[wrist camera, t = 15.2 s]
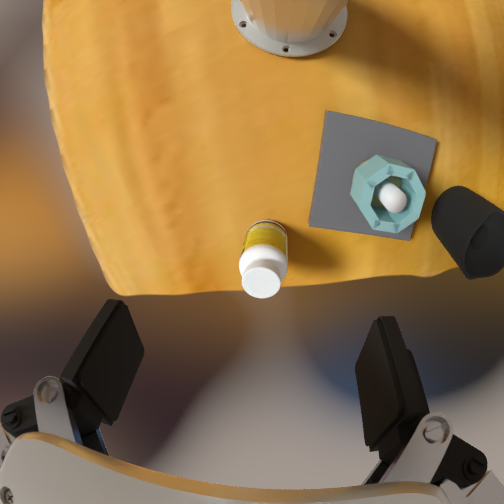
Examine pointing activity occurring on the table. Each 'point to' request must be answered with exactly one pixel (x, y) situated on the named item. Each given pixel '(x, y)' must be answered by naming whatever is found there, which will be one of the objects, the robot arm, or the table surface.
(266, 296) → the supplement bottle
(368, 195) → the ring
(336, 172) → the post stand
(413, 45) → the table surface
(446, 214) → the pen holder
